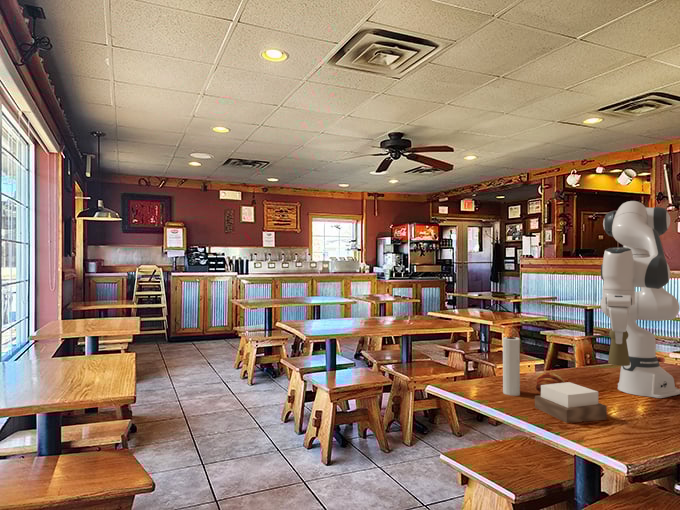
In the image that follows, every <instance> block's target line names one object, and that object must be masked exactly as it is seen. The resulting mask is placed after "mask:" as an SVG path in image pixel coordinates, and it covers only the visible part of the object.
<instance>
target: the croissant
mask: <svg viewBox="0 0 680 510" xmlns="http://www.w3.org/2000/svg"><path fill="white" fill-rule="evenodd" d="M535 382H536V383H535V384H536V386H535V389H536V391H537V392H539V393H541V385H546V384H556V383H566V382H565V380H564V378H563V377H561V376H560V375H558V374H556V373H553V372H544V373H541V374H539V375H538V376H537V377H536V380H535Z"/></svg>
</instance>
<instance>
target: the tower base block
mask: <svg viewBox="0 0 680 510" xmlns="http://www.w3.org/2000/svg"><path fill="white" fill-rule="evenodd" d="M534 408H535V409H536V410H539V411H542V413H543V412H544V413H546V414H548V415H549V416H551V417H553V418H556V419H558V420H560V421H562V422H564V423H567V424H569V422H571V423H582V421H584V422H592V421H606V420H607V419H608V418H607V417H608V413H607V409H608V408H607V405H605V404H602V403H601V402H598V404H596V405H588V406H579V407H571V408H567V407H565V406H562V405H560V404H557V403H555V402H552V401H550V400H547V399H545V398H542V397H541V394H540V395H539V394H538V395H534Z"/></svg>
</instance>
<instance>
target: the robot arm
mask: <svg viewBox="0 0 680 510" xmlns="http://www.w3.org/2000/svg"><path fill="white" fill-rule="evenodd" d="M670 224H671V216H670V214H669V212H668V210H667V209H666V208H665V207H662V206H661V207H660V206H659V207H658V206H655V207H646V206H645V205H644V204H643V203H641V202H640V201H636V200H630V201H626V202H623V203H622V204H621V205H620V206H619V207H618V209H617V210H616V209H615V210H612V211H609V212H607V213H606V214H605V215H604V218H603V223H602V225H603V230H604V231H605V234H606V235H608V236H609V237H613V238H614V239H615V241H616V242H617V243H619V244H620V245H622V246H619V247H618V246H616V247H609V248H607V249H605V250H604V254H603V259H602V264H601V265H600V279H601V281H603V284H602V288H601V289H602V298H601V300H600V309H601V311H602V312H603V314H604V315H605V316H607V317H608V318H609V319H610V326H611V329H612V330H613V331H615V338H616V344H622V337H623V332H626V331H627V332H628V338H627V340H626V341H627V347H628V354H629V360H630V365H629V366H620V370H619V371H620V373H619V381H618V382H617V390H618V391H620V392H623V393H626V394H630V395H635V396H641V397H650V398H656V399H662V398H663V399H664V398H668V397H672V396H677V395H680V388H678V387H676V385H675V378H674V377H673V375H672V374H670V373H669V372H668V371H666V370H665V369H664V368H663V367H661V364H664V363H665V362H666V359H665V357H661V356H657V347H656V346H657V345H656V341H657V339H656V337H655V335H654V334H653V333H652V332H650V331H649V330H647V329H645V328H644V327H641V326H639V325H638V323H637V321H653V322H660V321H661V322H663V321H671V320H674V319H675V318H676V317H677V315H678V314H679V312H680V303H679V300H678V299H677V298H676V297H675V296H674V295H673V294H672V293H670V292H668V291H667V290H666V288H664V287H665V286H667V285H668V284H669V282H670V279H671V270H670V265H669V264H668V262H667V258H666V256H665V251H664V249H663V244H662V241H661V240H662V239H661V237H660V236H662V235H664V234H665V233H667V231H668V230H669V228H670ZM636 288H639V289H640V291H639V290H638V291H636ZM660 363H661V364H660Z"/></svg>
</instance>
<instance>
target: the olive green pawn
mask: <svg viewBox="0 0 680 510" xmlns="http://www.w3.org/2000/svg"><path fill="white" fill-rule="evenodd" d="M608 336H609V337H610V346H609V353H608V361H607V363H608V364H609V365H612V366H613V365H614V366H619V367H621V366H629V365H630V360H629V354H628V347H627V341H626V340H627V338H628V332H627V331H626V332H623V337H622V344H616V338H615V331H613V330H612V328H611V329H610V330H609V333H608Z"/></svg>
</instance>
